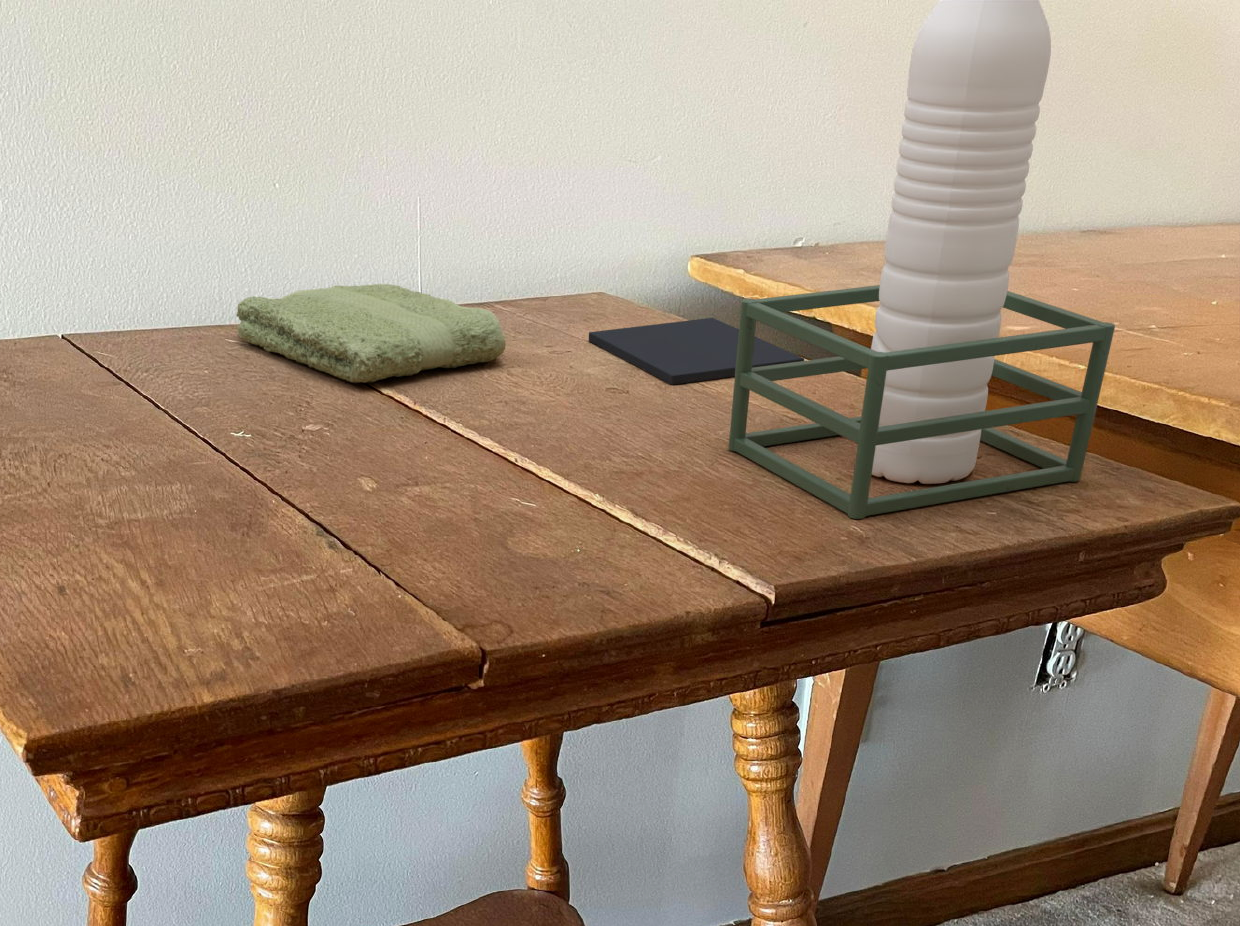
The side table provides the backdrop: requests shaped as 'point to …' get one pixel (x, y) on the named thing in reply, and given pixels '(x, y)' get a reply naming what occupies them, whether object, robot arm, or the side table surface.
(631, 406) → the side table surface
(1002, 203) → the water bottle
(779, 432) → the green open frame box
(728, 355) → the mat
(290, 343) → the washcloth
